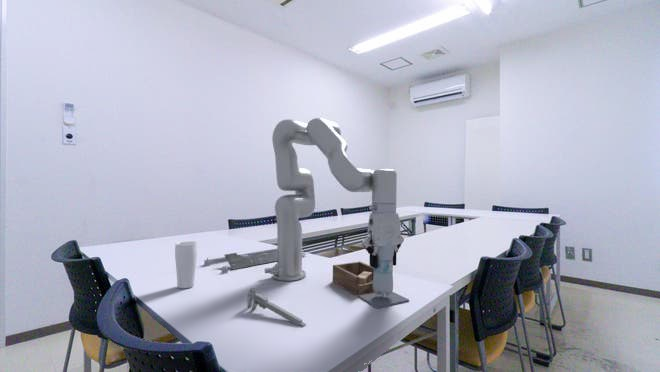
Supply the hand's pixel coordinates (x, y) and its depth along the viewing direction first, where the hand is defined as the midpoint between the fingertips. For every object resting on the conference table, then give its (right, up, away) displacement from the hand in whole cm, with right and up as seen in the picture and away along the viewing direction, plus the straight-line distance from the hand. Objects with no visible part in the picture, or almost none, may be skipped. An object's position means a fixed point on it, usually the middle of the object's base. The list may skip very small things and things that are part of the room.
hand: (383, 265), depth 93 cm
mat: (0, -11, 0) cm, 11 cm away
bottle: (0, -9, 0) cm, 9 cm away
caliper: (-32, -11, -13) cm, 36 cm away
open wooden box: (-7, -10, +12) cm, 17 cm away
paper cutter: (-49, -11, +46) cm, 68 cm away
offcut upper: (-5, -8, +10) cm, 14 cm away
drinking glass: (-66, -10, +10) cm, 68 cm away
